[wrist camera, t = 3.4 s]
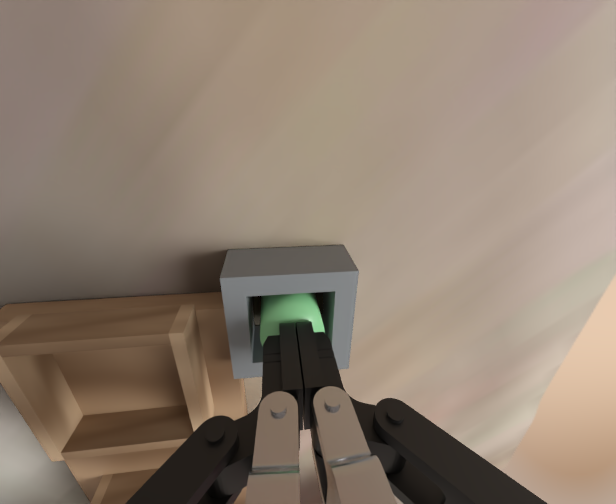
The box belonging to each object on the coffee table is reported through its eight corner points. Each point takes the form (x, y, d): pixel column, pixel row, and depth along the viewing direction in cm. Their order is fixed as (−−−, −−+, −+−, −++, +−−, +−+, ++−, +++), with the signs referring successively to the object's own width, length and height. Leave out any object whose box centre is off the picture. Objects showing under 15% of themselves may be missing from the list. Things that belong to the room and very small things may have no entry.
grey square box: (228, 249, 14) (219, 278, 12) (343, 245, 15) (358, 271, 13) (238, 340, 17) (234, 379, 15) (337, 332, 18) (348, 368, 15)
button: (259, 276, 15) (257, 311, 12) (315, 273, 15) (325, 306, 13) (262, 321, 16) (261, 361, 14) (314, 317, 17) (323, 356, 14)
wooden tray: (3, 298, 14) (-72, 351, 11) (232, 285, 15) (223, 329, 12) (119, 510, 23) (96, 571, 20) (256, 490, 24) (255, 545, 21)
